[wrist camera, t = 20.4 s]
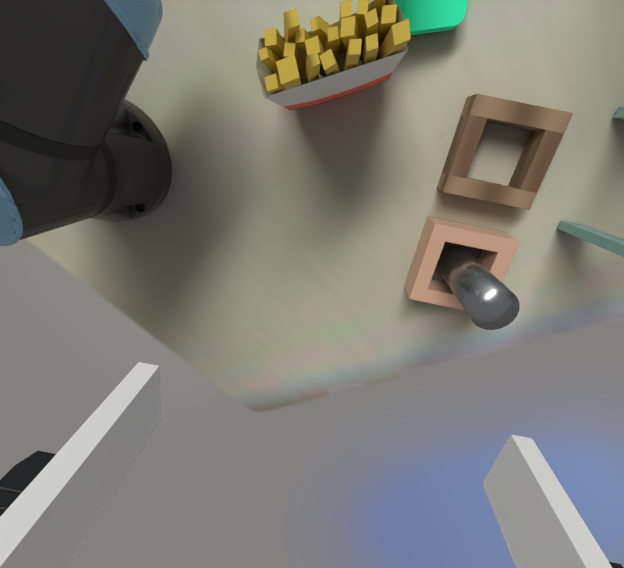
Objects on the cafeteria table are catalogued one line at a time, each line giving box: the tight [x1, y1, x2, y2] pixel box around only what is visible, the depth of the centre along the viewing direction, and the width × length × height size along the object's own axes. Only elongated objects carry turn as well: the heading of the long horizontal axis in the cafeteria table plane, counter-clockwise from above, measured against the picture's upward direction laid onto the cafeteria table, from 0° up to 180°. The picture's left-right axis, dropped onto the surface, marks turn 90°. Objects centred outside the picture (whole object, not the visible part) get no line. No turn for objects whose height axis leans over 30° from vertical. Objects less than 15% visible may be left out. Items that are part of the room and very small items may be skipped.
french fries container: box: [256, 0, 411, 110], centre depth 29 cm, size 5×11×18 cm, turn 105°
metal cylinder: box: [436, 245, 519, 330], centre depth 38 cm, size 4×4×14 cm
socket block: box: [437, 94, 573, 210], centre depth 37 cm, size 10×10×3 cm
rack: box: [405, 217, 520, 310], centre depth 43 cm, size 10×10×4 cm
